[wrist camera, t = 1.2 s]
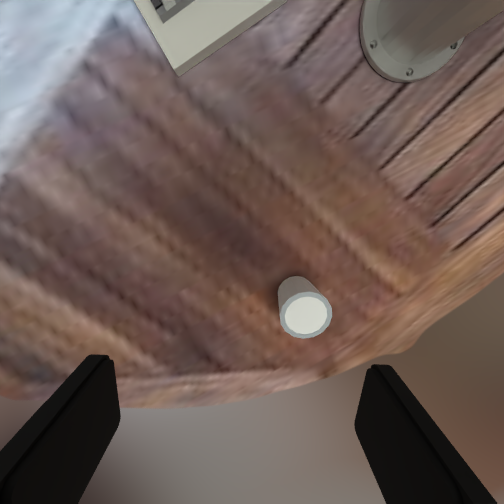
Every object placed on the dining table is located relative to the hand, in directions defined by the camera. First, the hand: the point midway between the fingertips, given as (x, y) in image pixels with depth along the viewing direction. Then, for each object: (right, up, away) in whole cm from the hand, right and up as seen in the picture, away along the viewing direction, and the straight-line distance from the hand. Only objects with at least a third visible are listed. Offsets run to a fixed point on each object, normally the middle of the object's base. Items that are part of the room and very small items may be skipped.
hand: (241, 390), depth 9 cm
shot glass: (+7, -1, +29) cm, 30 cm away
